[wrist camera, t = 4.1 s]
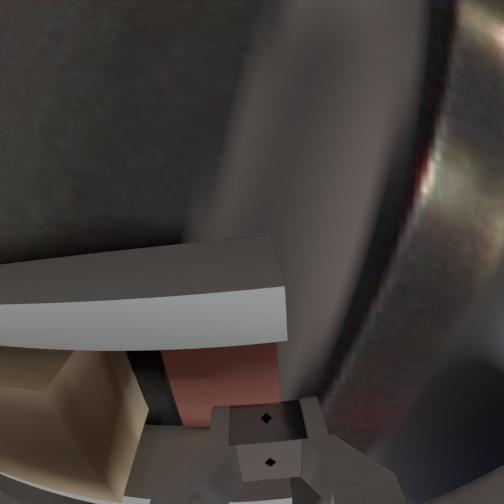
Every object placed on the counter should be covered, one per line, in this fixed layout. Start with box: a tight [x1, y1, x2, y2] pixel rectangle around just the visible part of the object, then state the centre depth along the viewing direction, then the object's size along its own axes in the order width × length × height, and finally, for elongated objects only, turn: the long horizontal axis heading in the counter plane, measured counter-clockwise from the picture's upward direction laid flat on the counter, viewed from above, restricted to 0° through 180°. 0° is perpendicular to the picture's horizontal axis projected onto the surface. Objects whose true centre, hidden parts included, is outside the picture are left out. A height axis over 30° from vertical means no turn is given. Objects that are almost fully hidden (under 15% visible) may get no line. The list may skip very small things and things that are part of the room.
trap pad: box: [160, 342, 280, 427], centre depth 11 cm, size 6×4×1 cm, turn 5°
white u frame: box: [0, 236, 292, 504], centre depth 9 cm, size 9×14×4 cm, turn 95°
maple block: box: [0, 346, 149, 503], centre depth 9 cm, size 5×7×5 cm
